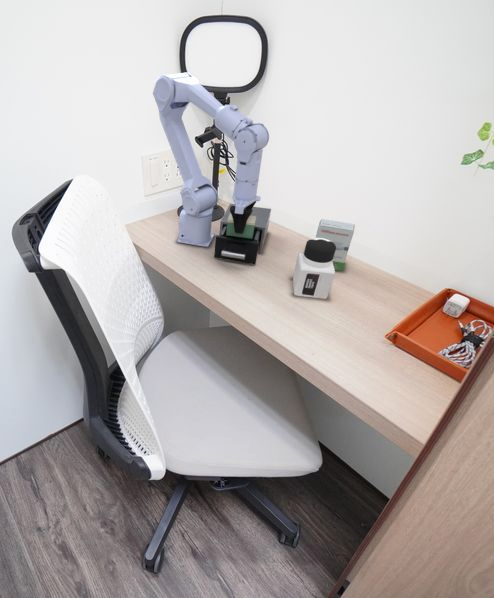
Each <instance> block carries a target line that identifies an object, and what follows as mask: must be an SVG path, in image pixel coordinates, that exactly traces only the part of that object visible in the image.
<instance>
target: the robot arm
mask: <svg viewBox="0 0 494 598" xmlns="http://www.w3.org/2000/svg"><path fill="white" fill-rule="evenodd" d="M152 96H153V98H154V102H155V103H156V106H157V109H158V116H159V121H160V123H161V126H162V128H163V131H164V134H165V137H166V139H167V142H168V144H169V147H170V150H171V152H172V155H173V157H174V160H175V163H176V165H177V168H178V171H179V174H180V176H181V179H182V181H183V185H182V186H181V188H180V192H179V193H180V197H181V204H182V208H183V209H181V210H180V213H179V217H178V239H177V243H179V244H186V245H193V246H199V247H205V248H209V247H210V244H211V242H212V241H213V239H214V238H215V234H214V233H212V222H213V211H214V209H215V208H214V207H215V206H216V205H217V204H218V203H219V193H218V190H217V189H216V188H215V187H214V186H213V183H212V182H211V179H210V178H208V177H206V176H205V175H204V174H203V172H202V170H201V167H200V164H199V162H198V159H197V156H196V153H195V151H194V148H193V146H192V142H191V140H190V138H189V134H188V132H187V129H186V126H185V124H184V121H183V115H184V112H185V111H186V109H187V108H188V106H189V105H190V103H191V104H193V105H195V106H196V107H197V108H198V109H200V110H201V111H203V112H204V113H206V115H208V116H210V117H211V118H213V120H214V126H215V127H216V128H217V129H218V130H219V131H220V132H221V133H222V134H224V135H225V136H226V137H227V138H228V139H230V140H231V142H233V146H234V148H235V151H236V169H235V177H234V187H233V194H232V198H231V199H232V201H233V204H235V206H231V207H230V213H231V215H232V217H233V221H234V230H235V233H240V234H243V232H244V229H245V226H246V222H247V220H248V218H249V216H250V215H251V213H252V211H253V210H252V208H253V207H255V205H256V203H257V202H260V201H261V198H262V196H260V195H257V193H258V186H259V178H260V173H261V166H262V160H263V152H264V151H263V150H264V148H265V147H266V146H267V145H268V143H269V141H270V133H269V131H268V128H267V127H266V126H265V125H264V123H261V122H257V123H254V120H253V119H252V118H250V117H249V118H248V117H247V116H245V115H244V114H243V113H241V112H240V111H239V107H238V106H237V105H236V104H226V105H223V104H222V103H221V102H220V101H219V100H218V99H216V97H215V96H214V95H212V93H210V92H209V91H208V90H207V89H206V88H205V87H204V86H203V85H202V84H201V83H200V81H199V79H198V78H197V77H195V76H193V75H192V74H191V73H190V72H188V71H187V72H186V71H185V72H182V73H174V74H161V75H159V76H158V77H157V78H156V79H155V83H154V87H153V91H152Z"/></svg>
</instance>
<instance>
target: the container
mask: <svg viewBox="0 0 494 598" xmlns="http://www.w3.org/2000/svg"><path fill="white" fill-rule="evenodd" d="M335 251H336V245H335V244H334V243H333V242H332V241H330V240H327V239H324V238H316V237H312V238H310V239H308V240H307V241H306V243H305V247H304V251H303V252H299V253H298V254H297V259H296V263H295V267H294V271H293V275H292V287H293V294H294V296H298V297H305V298H313V299H322V300H327V299H328V297H329V294H330V291H331V288H332V285H333V282H334V279H335V276H336V270H335V269H334V266H333V262H332V261H333V257H334V254H335Z"/></svg>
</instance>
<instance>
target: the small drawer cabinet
mask: <svg viewBox="0 0 494 598" xmlns="http://www.w3.org/2000/svg"><path fill="white" fill-rule="evenodd" d="M231 206H235V203H230V204H229V205H228V207H227V208H226V210H225V212H224V214H223V216H222V218H221V220H220V223H219V234H218V236H220V234H221V232H222V230H223V228H224V226H225V225H227V220H228V217H229V215H230V207H231ZM252 210H253V211H252V213H251V215H250V216H256V220H255V227H254V229H260V230H261V235H260V241H259V247H258V253H257V254H262V252H263V249H264V245H265V242H266V238H267V234H268V229H269V224H270V220H271V219H270V218H271V212H272V208H267V207H259V206H253V208H252Z"/></svg>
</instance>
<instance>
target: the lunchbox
mask: <svg viewBox="0 0 494 598" xmlns="http://www.w3.org/2000/svg"><path fill="white" fill-rule="evenodd" d="M255 220H256V216H249V218H248V220H247V222H246V226H245V229H244V232H243V234H240V233H235V230H234V221H233V217H232V215H231V213H230V215H229V217H228V220H227V232H226V235H228V236H236V237H244V238H252V237H253V233H254V227H255Z"/></svg>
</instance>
